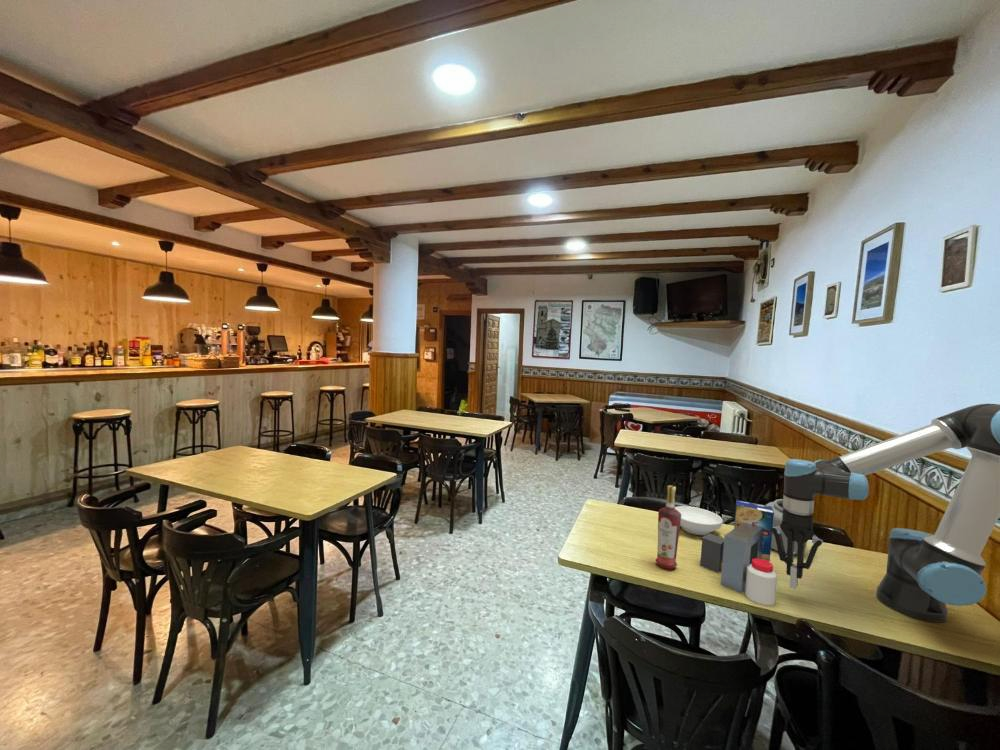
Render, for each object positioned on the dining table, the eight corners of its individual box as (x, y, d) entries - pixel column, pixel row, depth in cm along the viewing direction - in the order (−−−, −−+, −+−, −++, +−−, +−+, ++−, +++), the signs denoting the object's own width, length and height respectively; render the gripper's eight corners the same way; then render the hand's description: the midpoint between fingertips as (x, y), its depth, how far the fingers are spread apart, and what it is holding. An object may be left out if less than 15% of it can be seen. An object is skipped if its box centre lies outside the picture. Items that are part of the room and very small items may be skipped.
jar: (814, 566, 145) (820, 497, 144) (766, 556, 151) (772, 490, 149) (799, 544, 162) (804, 483, 161) (756, 536, 168) (761, 477, 167)
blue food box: (768, 576, 137) (774, 513, 136) (731, 566, 142) (736, 505, 141) (767, 567, 143) (772, 506, 142) (731, 558, 148) (736, 500, 147)
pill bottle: (775, 608, 118) (778, 572, 117) (744, 599, 122) (747, 564, 121) (774, 596, 124) (777, 561, 124) (745, 587, 128) (747, 554, 128)
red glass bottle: (680, 566, 140) (686, 487, 138) (672, 574, 134) (678, 491, 133) (659, 558, 145) (664, 481, 143) (651, 565, 139) (656, 485, 138)
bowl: (731, 543, 160) (732, 525, 160) (682, 540, 161) (683, 523, 160) (706, 522, 180) (707, 507, 180) (662, 520, 180) (664, 504, 180)
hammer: (773, 586, 130) (776, 556, 129) (768, 592, 126) (770, 561, 125) (706, 560, 145) (708, 533, 144) (700, 565, 141) (702, 537, 140)
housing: (761, 572, 138) (764, 526, 138) (741, 593, 125) (745, 542, 124) (741, 564, 143) (745, 520, 142) (720, 584, 129) (724, 535, 129)
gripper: (827, 514, 120) (823, 591, 121) (776, 502, 130) (772, 573, 131) (822, 520, 115) (817, 601, 116) (769, 507, 125) (765, 582, 126)
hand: (793, 586), depth 124 cm, fingers closed
